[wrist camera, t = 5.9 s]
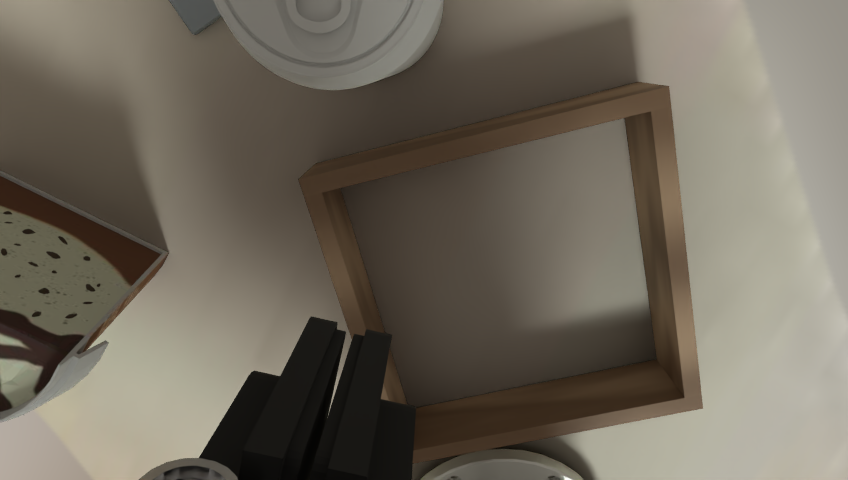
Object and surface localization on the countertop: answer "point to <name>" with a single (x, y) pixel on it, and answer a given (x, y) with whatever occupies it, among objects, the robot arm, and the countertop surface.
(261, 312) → the countertop surface
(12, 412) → the food container
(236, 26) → the beverage can
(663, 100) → the walnut box
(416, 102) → the countertop surface
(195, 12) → the charcoal mat
